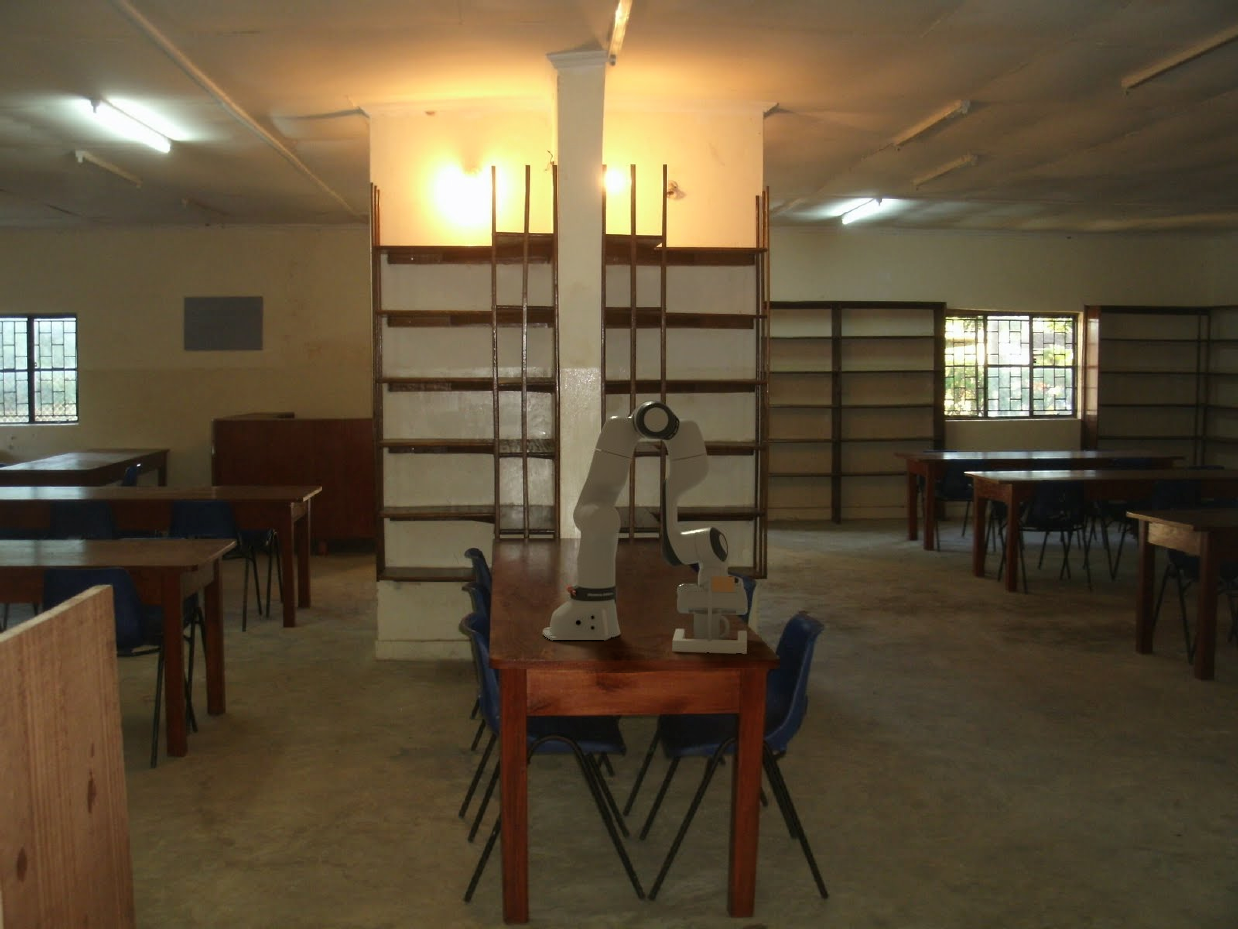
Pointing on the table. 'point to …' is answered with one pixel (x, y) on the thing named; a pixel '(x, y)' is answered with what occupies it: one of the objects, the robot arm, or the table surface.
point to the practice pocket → (708, 644)
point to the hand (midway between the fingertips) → (711, 625)
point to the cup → (702, 625)
